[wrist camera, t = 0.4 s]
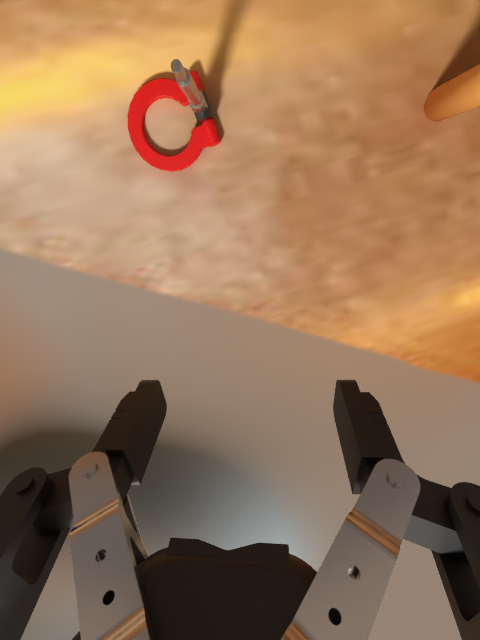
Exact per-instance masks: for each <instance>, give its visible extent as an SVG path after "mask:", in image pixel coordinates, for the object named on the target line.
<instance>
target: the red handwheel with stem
mask: <svg viewBox="0 0 480 640" xmlns="http://www.w3.org/2000/svg"><path fill="white" fill-rule="evenodd" d="M171 69H172V71H173V72H174V74H175V79H176V81H174V80H171V79H164V78H161V79H155V80H151V81H149V82H148V83H146V84H144V85H142V87H141V88H140V89H139V90H138V91H137V92H136V93H135V95H134V97H133V99H132V101H131V103H130V107H129V112H128V130H129V134H130V138H131V141H132V143H133V145H134V147H135V149H136V151H137V152H138V153H139V154H140V156H141V157H142V158H143V159H144V160H145V161H146V162H148V163H149V164H150V165H151V166H153V167H156V168H158V169H160V170H165V171H178V170H182V169H184V168H186V167H188V166H190V165H191V164H192V163H193V162H194V161H195V160H196V159H197V158H198V156H199V155H200V153H201V152H202V150H203V148H206V147H208V146H209V147H212V146H215V145H217V144H219V143H220V142H221V141H220V138H219V135H218V132H217V129H216V126H215V123H214V120H213V119H214V118H213V115H212V112H211V109H210V106H209V103H208V100H207V97H206V95H205V93H204V91H203V88H202V85H201V82H200V79H199V76H198V73H197V71H192V72H189V71H188V70H187V69H186V68H184V67H183V65H182V64H181V62H180V61H179V60H178V59H175V60H173V61H172V63H171ZM162 98H170V99H173V100H176V101H178V102H179V103H180V104H182V105H183V106H187V105H189V104H190V107H191V108H192V110H193V111H194V113H195V116H196V119H197V121H198V122H199V123H200V126H197V127H195V128H193V130H192V133H191V138H190V141H189V143H188V145H187V147H186V148H185V149H184V150H183V151H182V152H181V153H179V154H177V155H173V156H164V155H161V154H159V153H158V152H156V151H155V150H154V149H153V148H152V147H151V146H150V144H149V143H148V141H147V139H146V137H145V133H144V127H143V121H144V116H145V113H146V111H147V109H148V107H149V106H150V105H151V104H152V103H153V102H154V101H156V100H158V99H162Z"/></svg>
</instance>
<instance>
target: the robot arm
mask: <svg viewBox="0 0 480 640" xmlns="http://www.w3.org/2000/svg"><path fill="white" fill-rule="evenodd" d="M166 410H167V406H166V400H165V398H164V394H163V391H162V388H161V385H160V382H159V381H158V380H142V381H141V382H140V383H139V385H138V387H137V389H136V391H135V392H129V393H128V394H127V395H126V396H125V397H124V398H123V399H122V400H121V401H120V403H119V405H118V407H117V408H116V412H114V414H113V416H112V417H111V420H110V421H109V423H108V425H107V426H106V428H105V430H104V432H103V434H102V436H101V437H100V439H99V441H98V443H97V445H96V447H95V448H94V450H93V451H92V453H89V454H86V455H85V456H83V457H82V458H80V459H79V460H78V461H77V462H76V463H75V464H74V465H73V467H72V468H69V469H65V470H62V471H59V472H55V473H52V474H47V473H46V472H45V470H44V469H42V468H31V469H28V470H26V471H24V472H22V473H20V474H19V475H18V476H16V477H15V478H14V479H13V480H12V481H11V482H10V483H9V484H8V485H7V487H6V488H5V490H4V491H3V493H2V494H1V496H0V640H20V639H21V637H22V634H23V632H24V630H25V628H26V626H27V623H28V621H29V619H30V617H31V614H32V612H33V610H34V608H35V605H36V603H37V601H38V599H39V597H40V594H41V592H42V590H43V588H44V586H45V583H46V581H47V579H48V577H49V574H50V572H51V570H52V568H53V566H54V563H55V561H56V559H57V557H58V554H59V552H60V550H61V548H62V545H63V543H64V541H65V539H66V537H67V534H68V532H69V530H70V528H71V527H73V526H74V529H72V530H71V532H70V545H71V554H72V563H73V570H74V571H73V572H74V581H75V589H76V599H77V607H78V617H79V625H80V631H79V632H78V633H77V634H76V636H75V637H74V638H73V639H72V640H368V637H369V634H370V631H371V629H372V626H373V623H374V621H375V618H376V615H377V612H378V609H379V607H380V604H381V601H382V598H383V596H384V593H385V590H386V587H387V584H388V581H389V579H390V576H391V573H392V570H393V568H394V565H395V562H396V559H397V556H398V554H399V550H400V545H401V542H402V539H406V540H409V541H411V542H413V543H416V544H418V545H421V546H423V547H426V548H428V549H431V551H432V554H433V556H434V559H435V562H436V565H437V568H438V571H439V574H440V577H441V580H442V583H443V586H444V589H445V591H446V594H447V597H448V600H449V603H450V606H451V609H452V612H453V615H454V617H455V620H456V623H457V626H458V629H459V632H460V635H461V638H462V640H480V486H478V485H475V484H472V483H467V482H461V483H457V484H455V485H454V486H453V487H452V488H449V487H446V486H443V485H440V484H437V483H434V482H431V481H428V480H425V479H423V478H421V477H419V476H418V475H416V474H415V472H414V471H413V470H412V469H411V468H410V467H409V466H407V465H406V464H405V463H404V461H403V459H402V457H401V455H400V453H399V450H398V448H397V445H396V443H395V441H394V438H393V436H392V434H391V431H390V429H389V426H388V424H387V421H386V419H385V417H384V415H383V412H382V410H381V407H380V405H379V402H378V401H377V400H376V399H375V398H374V397H373V396H372V395H371V394H370V393H369V392H360V390H359V387H358V385H357V382H356V381H355V380H337V382H336V388H335V397H334V404H333V411H334V418H335V423H336V427H337V431H338V435H339V439H340V444H341V448H342V452H343V456H344V460H345V465H346V469H347V473H348V477H349V481H350V486H351V490H352V494H360V496H359V498H358V500H357V502H356V504H355V506H354V508H353V510H352V512H350V513H349V514H348V515H347V517H346V519H345V521H344V522H343V524H342V526H341V528H340V530H339V532H338V534H337V536H336V538H335V540H334V542H333V544H332V545H331V547H330V549H329V551H328V553H327V555H326V557H325V559H324V561H323V563H322V565H321V567H320V568H319V571H318V572H316V571H315V570H314V569H313V568H312V567H311V566H310V565H308V564H307V563H306V562H305V561H303V560H301V559H300V558H298V557H296V556H294V555H291V554H289V547H288V545H287V544H270V543H256V544H252V545H248V546H244V547H240V548H237V549H233V550H224V549H221V548H218V547H216V546H214V545H211V544H209V543H206V542H203V541H201V540H199V539H182V538H171V539H170V542H169V546H168V547H167V548H164V549H162V550H159V551H157V552H155V553H154V554H152V555H150V556H149V557H148V554H147V552H146V549H145V546H144V544H143V542H142V539H141V536H140V533H139V530H138V526H137V523H136V520H135V516H134V513H133V509H132V506H131V503H130V500H129V497H128V494H127V493H128V490H129V488H130V486H131V485H141V482H142V479H143V476H144V474H145V471H146V468H147V465H148V463H149V460H150V457H151V454H152V452H153V449H154V446H155V443H156V441H157V438H158V435H159V432H160V429H161V427H162V424H163V421H164V418H165V416H166Z"/></svg>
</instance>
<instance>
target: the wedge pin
mask: <svg viewBox="0 0 480 640" xmlns="http://www.w3.org/2000/svg"><path fill="white" fill-rule="evenodd" d="M479 106H480V64H479V65H477V66H476V67H474V68H472V69H470V70H468V71H466V72H464V73H463V74H461V75H459V76H457V77H455V78H453V79H451V80H450V81H448V82H446V83H444V84H442V85H440V86H438V87H436V88H435V89H434V90H432V91H431V92H430V94H429V95H428V97H427V99H426V101H425V107H424V109H425V114H426V116H427V118H428V119H430V120H431V121H440V120H443V119H446V118H449V117H451V116H454V115H457V114H460V113H462V112H465V111H468V110H471V109H473V108H476V107H479Z"/></svg>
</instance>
